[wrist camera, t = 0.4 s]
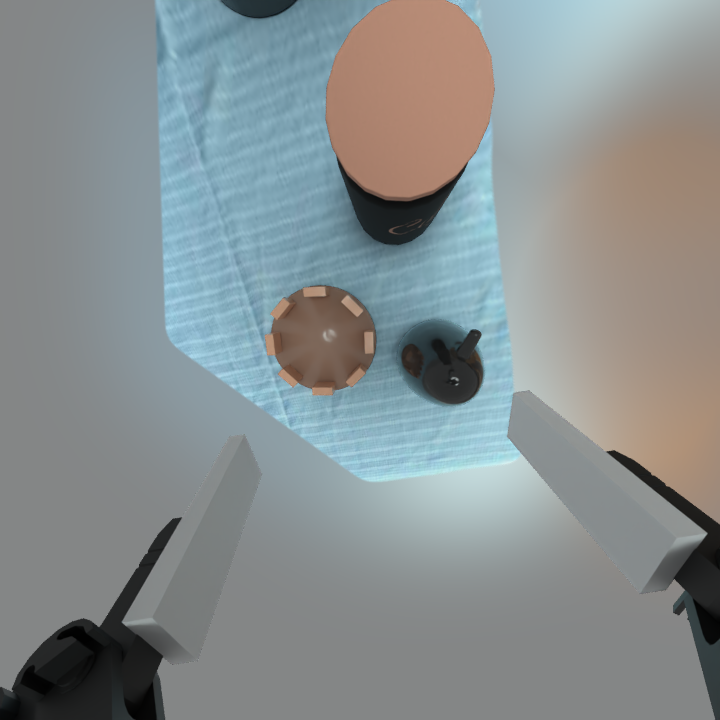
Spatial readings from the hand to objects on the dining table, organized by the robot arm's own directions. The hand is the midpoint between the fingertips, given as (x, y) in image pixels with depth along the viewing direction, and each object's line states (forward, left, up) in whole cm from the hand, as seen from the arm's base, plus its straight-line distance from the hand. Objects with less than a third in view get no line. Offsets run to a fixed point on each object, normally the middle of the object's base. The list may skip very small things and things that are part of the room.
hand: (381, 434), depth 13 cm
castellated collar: (0, -9, -26) cm, 28 cm away
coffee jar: (-18, +2, -27) cm, 32 cm away
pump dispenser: (+2, +7, -27) cm, 28 cm away
